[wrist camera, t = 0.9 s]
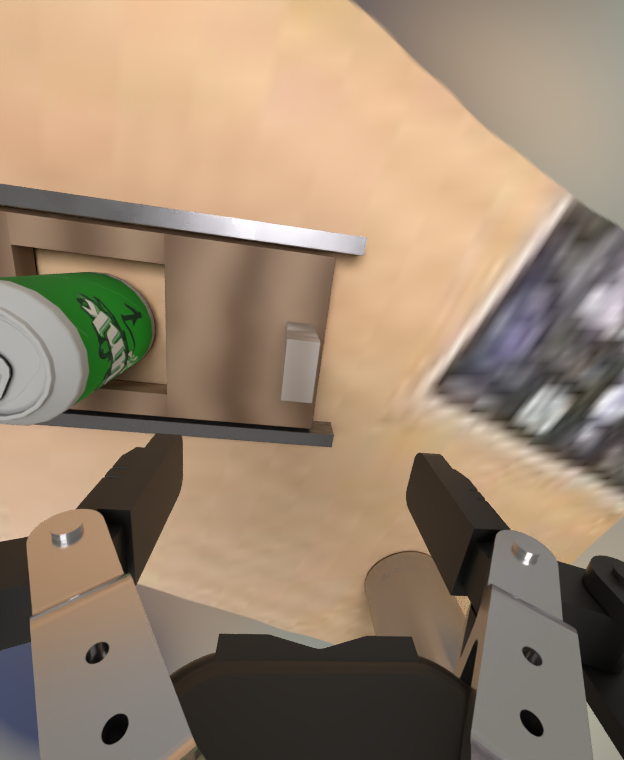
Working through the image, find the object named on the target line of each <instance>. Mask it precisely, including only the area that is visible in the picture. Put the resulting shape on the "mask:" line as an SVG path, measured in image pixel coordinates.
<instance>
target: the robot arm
mask: <svg viewBox="0 0 624 760" xmlns="http://www.w3.org/2000/svg"><path fill="white" fill-rule="evenodd" d="M182 480H183V440H182V436H181V435H177V434H163V433H156V434H155V435H154V437H153V438H152V439H151V440H150V442H149V443H148V444H147V445H146V447H145V448H142V447H136V448H134V449H133V450H131V451H129V452H128V453H126V454H124V455H122V456H121V457H120V459H119V460H118V461H117V462H116V463H115V464H114V465H113V468H112V469H110V470H109V471H108V472H107V474H106V475H105V478H102V479H101V480H100V482H99V483H98V484H97V485H96V486H95V487H94V489H93V490H92V491H91V492H90V493H89V494H88V495H87V497H86V498H85V499H84V500H83V501H82V502H81V504H80V505H79V506H78V507H77V508H76V509H75V510H69V511H66V512H62V513H60V514H57V515H55V516H52V517H50V518H49V519H47V520H45V521H44V522H42V523H41V524H39V525H38V526H37V527H36V528H35V529H34V530H33V531H32V532H31V533H30V535H29V537H24V538H19V539H13V540H8V541H2V542H0V650H3V649H7V648H10V647H14V646H17V645H21V644H25V643H28V642H31V645H32V658H33V671H34V684H35V696H36V707H37V708H36V709H37V721H38V734H39V746H40V759H41V760H593V753H592V745H591V737H590V729H589V722H588V713H587V705H586V701H587V703H588V704H589V706H590V708H591V709H592V711H593V712H594V714H595V715H596V717H597V718H598V720H599V722H600V723H601V725H602V726H603V727H604V730H605V731H606V733H607V734H608V736H609V737H610V739H611V741H612V742H613V744H614V745H615V747H616V748H617V750H618V752H619V753H620V755H621V756H622V758H623V759H624V562H622V561H620V560H618V559H615V558H612V557H608V556H595V557H593V558H592V559H591V561H590V563H589V565H588V567H587V569H583V568H579V567H576V566H573V565H569V564H566V563H562V562H559V561H557V560H556V558H555V557H554V555H553V554H552V553H551V551H550V550H549V549H548V548H547V547H545V546H544V545H543V544H542V543H540V542H539V541H537V540H536V539H534V538H532V537H530V536H528V535H526V534H524V533H521V532H518V531H514V530H510V528H509V527H508V526H507V525H506V524H505V522H504V521H503V520H502V519H501V518H500V516H499V515H498V514H497V513H496V512H495V510H494V509H493V508H492V507H491V506H490V504H489V503H488V502H487V501H485V498H484V497H483V496H482V495H481V493H480V492H477V489H476V487H475V486H474V485H473V484H472V483H471V481H470V480H469V479H468V478H466V477H465V476H464V475H462V474H461V473H459V472H458V471H457V470H455V469H452V468H451V466H450V465H449V464H448V463H447V461H446V460H445V459H444V458H443V456H442V455H440V454H430V453H418V454H417V455H416V456H415V459H414V463H413V467H412V471H411V475H410V479H409V482H408V486H407V491H406V501H407V506H408V509H409V511H410V513H411V515H412V517H413V519H414V521H415V523H416V525H417V527H418V529H419V531H420V534H421V536H422V538H423V540H424V542H425V544H426V546H427V548H428V550H429V552H430V554H431V556H432V557H430V556H428V555H426V554H422V553H419V552H403V553H398V554H394V555H392V556H389V557H387V558H385V559H383V560H382V561H380V562H379V563H377V564H376V565H375V566H374V567H373V568H372V570H371V571H370V572H369V574H368V576H367V578H366V582H365V590H366V595H367V599H368V603H369V608H370V612H371V616H372V620H373V625H374V630H375V634H376V636H365V637H361V638H358V639H354V640H351V641H348V642H344V643H341V644H338V645H334V646H331V647H327V648H324V649H316V648H312V647H309V646H305V645H302V644H298V643H295V642H292V641H289V640H285V639H282V638H279V637H275V636H272V635H266V634H263V635H262V634H219V638H218V644H217V649H216V653H212V654H209V655H206V656H203V657H201V658H199V659H196V660H194V661H192V662H190V663H188V664H187V665H185V666H183V667H181V668H180V669H178V670H177V671H175V672H174V673H173V674H171V675H170V676H169V674H168V671H167V669H166V666H165V663H164V660H163V658H162V655H161V653H160V650H159V647H158V645H157V642H156V639H155V637H154V634H153V631H152V629H151V626H150V624H149V621H148V618H147V616H146V613H145V610H144V608H143V605H142V602H141V600H140V597H139V595H138V592H137V589H136V587H135V586H136V584H137V582H138V580H139V578H140V576H141V574H142V572H143V570H144V567H145V565H146V563H147V561H148V559H149V557H150V555H151V553H152V551H153V548H154V546H155V544H156V542H157V540H158V538H159V536H160V534H161V532H162V530H163V527H164V525H165V523H166V521H167V519H168V517H169V515H170V513H171V511H172V508H173V506H174V504H175V502H176V500H177V498H178V496H179V493H180V490H181V486H182ZM455 596H468V598H469V600H470V605H469V608H468V610H467V614H466V618H465V616H464V613H463V611H462V609H461V607H460V605H459V603H458V601H457V599H456V597H455Z"/></svg>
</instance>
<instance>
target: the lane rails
mask: <svg viewBox="0 0 624 760" xmlns="http://www.w3.org/2000/svg"><path fill="white" fill-rule="evenodd" d="M0 206H6V207H13V208H20V209H28V210H35V211H42V212H49V213H56V214H63V215H70V216H77V217H85V218H92V219H99V220H106V221H113V222H120V223H127V224H134V225H142V226H149V227H156V228H163V229H170V230H177V231H184V232H191V233H199V234H206V235H213V236H220V237H227V238H234V239H241V240H248V241H256V242H263V243H270V244H277V245H284V246H291V247H298V248H305V249H313V250H320V251H327V252H334V253H341V254H348V255H355V256H362V255H364V252H365V246H366V240H367V237H360V236H353V235H346V234H339V233H332V232H326V231H319V230H312V229H305V228H298V227H292V226H285V225H278V224H271V223H264V222H258V221H251V220H244V219H237V218H230V217H223V216H217V215H210V214H203V213H196V212H189V211H183V210H176V209H169V208H162V207H155V206H148V205H142V204H135V203H128V202H121V201H114V200H108V199H101V198H94V197H87V196H80V195H74V194H67V193H60V192H53V191H46V190H39V189H33V188H26V187H19V186H12V185H5V184H0ZM36 425H49V426H62V427H75V428H88V429H101V430H114V431H127V432H140V433H153V434H156V433H163V434H177V435H181V436H192V437H205V438H218V439H231V440H244V441H257V442H270V443H283V444H296V445H310V446H323V447H332V442H333V436H334V435H333V431H332V427H331V423H330V422H318V421H312V428H311V429H308V428H296V427H284V426H272V425H260V424H247V423H235V422H223V421H211V420H199V419H187V418H174V417H162V416H150V415H138V414H126V413H114V412H102V411H89V410H77V409H68V410H66V411H65V412H63V413H61V414H60V415H58V416H56V417H55V418H53V419H51V420H49V421H46V422H41V423H36Z"/></svg>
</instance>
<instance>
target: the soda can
mask: <svg viewBox="0 0 624 760" xmlns="http://www.w3.org/2000/svg"><path fill="white" fill-rule="evenodd" d="M154 336H155V324H154V318H153V315H152V312H151V310H150V307H149V305H148V303H147V302H146V301H145V299H144V298H143V297H142V295H141V294H140V293H139V291H137V290H136V289H135V288H134V287H132V286H131V285H130V284H128V283H127V282H126V281H124V280H122V279H120V278H117V277H115V276H112V275H110V274H106V273H97V272H80V273H64V274H47V275H31V276H14V277H0V423H1V424H11V425H32V424H36V423H41V422H46V421H49V420H51V419H53V418H55V417H56V416H58V415H60V414H61V413H63V412H65V411H66V410H68V409H69V408H71V407H72V406H74V405H75V404H77V403H78V402H80V401H81V400H83V399H84V398H86V397H87V396H88V395H90V394H91V393H93V392H94V391H96V390H97V389H99V388H100V387H102V386H103V385H105V384H106V383H108V382H109V381H111V380H112V379H114V378H115V377H116V376H118V375H119V374H121V373H122V372H124V371H125V370H127V369H128V368H130V367H131V366H133V365H134V364H136V363H137V362H139V361H140V360H142V359H143V358H144V356H145V355H146V354H147V352H148V351H149V350H150V349H151V346H152V343H153V339H154Z"/></svg>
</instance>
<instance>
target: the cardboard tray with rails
mask: <svg viewBox="0 0 624 760" xmlns="http://www.w3.org/2000/svg"><path fill="white" fill-rule="evenodd" d="M33 247H35V248H43V249H50V250H58V251H66V252H73V253H81V254H89V255H97V256H104V257H112V258H120V259H128V260H135V261H143V262H151V263H158V264H165V308H166V360H167V385H161V384H150V383H139V382H129V381H118V380H111V381H109V382H108V383H106V384H105V385H103V386H102V387H100V388H99V389H97V390H96V391H94V392H93V393H91V394H90V395H88V396H87V397H86V398H84V399H83V400H81V401H80V402H78V403H77V404H75V405H74V406H72V407H71V408H69V409H77V410H89V411H102V412H114V413H126V414H138V415H150V416H162V417H174V418H187V419H199V420H211V421H223V422H235V423H247V424H260V425H272V426H284V427H296V428H308V429H311V428H312V421H313V414H314V407H315V400H316V393H317V386H318V379H319V372H320V365H321V358H322V351H323V344H324V337H325V330H326V323H327V316H328V309H329V302H330V295H331V288H332V281H333V274H334V267H335V260H336V257H329V256H321V255H314V254H307V253H300V252H293V251H285V250H278V249H271V248H264V247H257V246H249V245H242V244H235V243H228V242H220V241H213V240H206V239H199V238H192V237H184V236H177V235H170V234H163V233H156V232H148V231H141V230H134V229H127V228H120V227H112V226H105V225H98V224H91V223H84V222H76V221H69V220H62V219H55V218H48V217H40V216H33V215H26V214H19V213H11V212H4V211H0V277H14V276H31V275H37V274H36V267H35V260H34V253H33Z"/></svg>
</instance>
